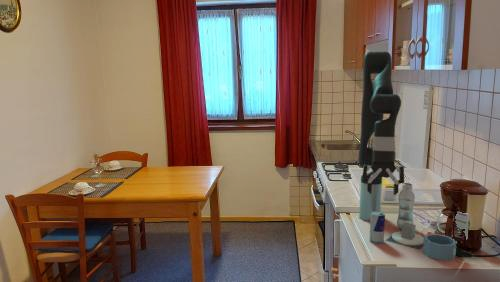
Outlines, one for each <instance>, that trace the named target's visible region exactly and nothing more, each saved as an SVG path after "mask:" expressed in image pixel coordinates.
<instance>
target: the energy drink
mask: <svg viewBox="0 0 500 282" xmlns="http://www.w3.org/2000/svg"><path fill="white" fill-rule="evenodd" d="M385 221H386V214H385V213H384V212H383V211H381V210H380V211H373V212H371V219H370V221H369V223H370V224H369V239H368V240H369V243H371V244H372V245H383V244H384V242H385V228H386V227H385V226H386V224H385V223H386V222H385Z"/></svg>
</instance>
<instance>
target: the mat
mask: <svg viewBox="0 0 500 282" xmlns="http://www.w3.org/2000/svg"><path fill="white" fill-rule="evenodd" d="M399 231H400V230H396V231H395V232H399ZM385 241H386V242H390V243H393V244H397V245H400V246H404V247H408V248H412V249H416V250H421V249H423V245H420V246H408V245H403V244H400V243H397V242H395V241H394V240H393V239H392V234H391V235H390V236H389V237H388V238H386V239H385Z"/></svg>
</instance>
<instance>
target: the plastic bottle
mask: <svg viewBox="0 0 500 282" xmlns="http://www.w3.org/2000/svg"><path fill="white" fill-rule="evenodd" d="M401 188H402V189H401V190H400V191H399V192H398V196H397V199H398V216H397V219H396V226H397V228H398V229H400V230H402V225H403V224H404V223H409V224H414V219H413V218H414V217H413V216H414V212H413V211H414V203H415V200H416V196H415V194H414V192H413V191H412V189H413V183H409V182H404V183H402V187H401ZM414 225H415V224H414Z"/></svg>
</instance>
